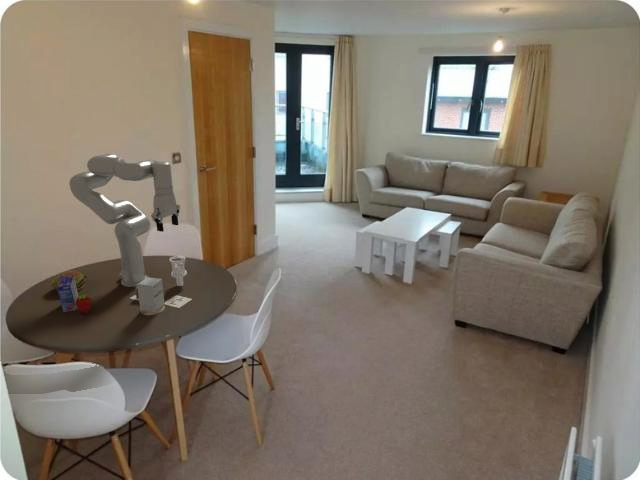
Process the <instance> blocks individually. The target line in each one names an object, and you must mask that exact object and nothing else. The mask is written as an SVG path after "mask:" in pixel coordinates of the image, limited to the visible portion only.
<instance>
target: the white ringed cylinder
mask: <svg viewBox="0 0 640 480" xmlns="http://www.w3.org/2000/svg"><path fill="white" fill-rule="evenodd" d="M175 259H180V260H175ZM169 263H170V264H171V269H172V271H171V273H170V275H171V276H170V277H171V278H175V280H176V286H177V287H181V286H182V287H183V286H184V277H186V276H187V275H188V272H187V270H186V269H185V268H186V267H185V264H186V257H185V256H184V255H174V256H171V257H169Z"/></svg>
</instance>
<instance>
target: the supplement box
mask: <svg viewBox="0 0 640 480" xmlns="http://www.w3.org/2000/svg"><path fill="white" fill-rule="evenodd" d="M148 277H149V276H148ZM148 277H147V278H146V279H144V280H143V281H141V282H140V283H138V284H137V288H138V295H139V301H138V302H139V311H140V310H141V311H146V312H153V313H156V312H157V311H158V310H159V309H160V308H161V307H162V306H166V305H165V304H164V303H165V298H164V297H165V296H164V286H163V279H162V278H155V277H149V278H148Z"/></svg>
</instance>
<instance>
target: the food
mask: <svg viewBox="0 0 640 480" xmlns="http://www.w3.org/2000/svg"><path fill="white" fill-rule="evenodd" d="M61 275H62V276H63V277H68V276H74V279H75V283H76V288H77V292H78V291H80V290H82V289H83V288H85V285H86V279H87V275H84V274H83V273H82V272H80V271H77V270H67V271H64V272H60V273H59V274H58V275H57V276H56V277H55V278H54V280H52V282H51V283H52V288H54V289H56V290H55V291H56V292H58V289H57V286H58V284H59V281H60V276H61Z"/></svg>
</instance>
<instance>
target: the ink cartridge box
mask: <svg viewBox="0 0 640 480" xmlns="http://www.w3.org/2000/svg"><path fill="white" fill-rule="evenodd" d="M57 289H58V291H57V293H58V297H59V301H60V303H61V308H62V312H63V313H67V312H74V311H77V310H78V308H77V306H76V300H77V298H75V297H78V296H79V293H78V291H77V288H76V283H75V279H74V276H68V277H63V276H62V275H61V276H60V281H59V284H58V286H57Z"/></svg>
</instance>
